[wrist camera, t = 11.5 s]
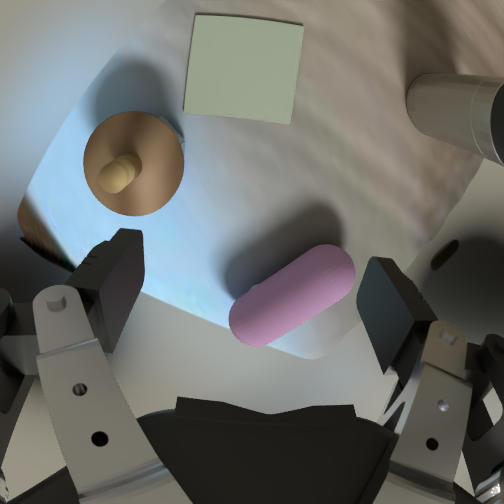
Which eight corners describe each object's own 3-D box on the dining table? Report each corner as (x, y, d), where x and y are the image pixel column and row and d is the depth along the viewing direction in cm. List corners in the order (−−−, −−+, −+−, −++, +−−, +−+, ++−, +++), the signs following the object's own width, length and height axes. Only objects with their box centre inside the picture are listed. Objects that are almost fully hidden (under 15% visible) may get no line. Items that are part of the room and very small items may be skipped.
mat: (303, 27, 30) (304, 26, 29) (289, 124, 36) (289, 124, 36) (196, 16, 29) (195, 15, 28) (184, 113, 35) (183, 113, 35)
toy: (326, 222, 44) (218, 298, 48) (346, 249, 36) (216, 334, 41) (352, 260, 47) (249, 327, 51) (372, 291, 39) (252, 365, 44)
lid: (188, 112, 30) (175, 117, 24) (181, 217, 35) (170, 240, 30) (87, 112, 29) (60, 118, 24) (89, 209, 35) (66, 229, 29)
